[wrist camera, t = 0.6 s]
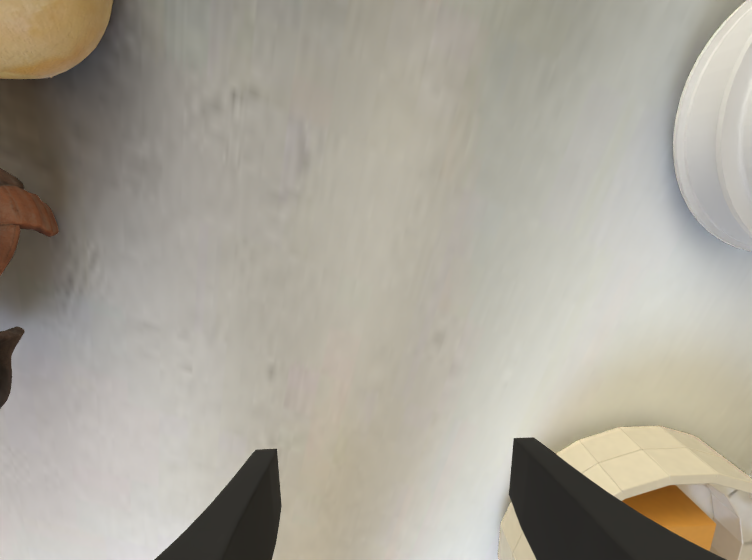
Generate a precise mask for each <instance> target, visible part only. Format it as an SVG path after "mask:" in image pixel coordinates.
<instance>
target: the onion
mask: <svg viewBox="0 0 752 560" xmlns="http://www.w3.org/2000/svg"><path fill="white" fill-rule="evenodd" d="M112 4H113V0H0V79H1V78H3V79H39V78H40V79H42V78H47V79H48V77H50V78H52V77H53V76H56V75H57V74H60V73H63V72H66V71H68V70H69V69H71V68H73V67H74V66H76V65H77V64H79V63H80V62H82V61H83V59H85V58H86V57H87V56H88V55H89V54H90V53H91V52H92V51H93V50H94V49H95V48H96V47H97V45H98V43H99V42H100V40H101V38H102V36H103V35H104V32H105V30H106V27H107V25H108V23H109V19H110V14H111V10H112Z"/></svg>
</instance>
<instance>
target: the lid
mask: <svg viewBox="0 0 752 560" xmlns="http://www.w3.org/2000/svg"><path fill="white" fill-rule="evenodd" d="M673 160H674V167H675V173H676V178H677V182H678V185H679V188H680V191H681V194H682V196H683V198H684V200H685V202H686V204H687V206H688V208H689V210H690V211H691V213H692V214H693V215H694V217H695V218H696V220H697V221H698V222H699V223H700V224H701V225H702V226H703V227H704V228H705V229H706V230H707V231H708V232H709V233H710V234H712V235H713V236H715V237H716V238H718V239H719V240H721V241H722V242H724V243H727V244H729V245H731V246H733V247H736V248H739V249H743V250H746V251H750V252H752V0H747V1H746V2H744V3H743V4H742V5H741V6H740V7H739V8H737V9H736V10H735V11H734V12H733V13H732V14H731V15H730V16H729V17H728V18H727V19H726V20H725V21H724V22H723V24H722V25H721V26H720V27H719V29H718V30H717V31H716V32H715V34H714V35H713V36H712V37H711V38H710V40H709V41H708V43H707V45H706V46H705V48H704V49H703V51H702V52H701V54H700V55H699V57H698V59H697V61H696V63H695V65H694V67H693V69H692V71H691V73H690V75H689V77H688V79H687V82H686V84H685V87H684V90H683V93H682V95H681V98H680V102H679V106H678V110H677V114H676V119H675V126H674V135H673Z"/></svg>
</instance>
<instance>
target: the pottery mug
mask: <svg viewBox="0 0 752 560" xmlns="http://www.w3.org/2000/svg"><path fill="white" fill-rule="evenodd" d="M20 229H33V230H36V231H38V232H39V233H42V234H44V235H46V236H48V237H51V236H54V235H56V234H58V232H59V230H58V226H57V222H56V220H55V218H54V215H53V213H52V210H51V209H50V207H49V206H48V205H47V204H46V203H44V202H42V201H41V200H40V198H39V197H38V195H36V194H32V193H29V192H27V191H25V190H24V186H23V183H22V182H21V181H20V180H19V179H18V178H16V177H15V176H13V175H11V174H9V173H8V172H6V171H4V170H3V169H1V168H0V276H1V274H2V273H3V271H4V269H5V268H6V266H7V265H8V264H9V262H10V260H11V258H12V257H13V255H14V252H15V250H16V247H17V244H18V240H19V235H20ZM23 334H24V330H23V329H22V328H20V327H14V328H11V329H8V330H6V331H0V408H1V407H2V406H3V405H4V404H5V402H6V401H7V399H8V396H9V394H10V390H11V383H12V369H11V355H12V353H13V351H14V349H15V347H16V345H17V343H18V342H19V340H20V339H21V337H22V335H23Z"/></svg>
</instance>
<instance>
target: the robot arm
mask: <svg viewBox="0 0 752 560" xmlns="http://www.w3.org/2000/svg"><path fill="white" fill-rule="evenodd" d="M509 496H510V499H511V502H512V504H513V507H514V510H515V513H516V516H517V518H518V521H519V524H520V526H521V529H522V531H523V533H524V535H525V537H526V539H527V541H528V543H529V545H530V548H531V550H532V552H533V554H534V556H535V558H536V560H726V559H724V558H722V557H720V556H718V555H716V554H714V553H712V552H710V551H708V550H706V549H704V548H702V547H700V546H698V545H696V544H694V543H692V542H690V541H688V540H686V539H685V538H683V537H681V536H679V535H677V534H675V533H673V532H672V531H670V530H668V529H666V528H665V527H663V526H661V525H660V524H658V523H656V522H654V521H653V520H651V519H649V518H647V517H646V516H644V515H642V514H641V513H639V512H638V511H636V510H634V509H633V508H631V507H630V506H628V505H627V504H625V503H624V502H622V501H621V500H619V499H618V498H616V497H615V496H613V495H612V494H610V493H609V492H607V491H606V490H604V489H603V488H601V487H600V486H598V485H597V484H596V483H594V482H593V481H591V480H590V479H589V478H587V477H586V476H585V475H583V474H582V473H580V472H579V471H578V470H576V469H575V468H574V467H572V466H571V465H570V464H568V463H567V462H566V461H564V460H563V459H562V458H561V457H559V456H558V455H557V454H555V453H554V452H553V451H551V450H550V449H549V448H547V447H546V446H545V445H543V444H542V443H541V442H539V441H538V440H536V439H535V438H514V443H513V454H512V466H511V477H510V489H509ZM280 513H281V494H280V482H279V470H278V457H277V449H263V450H255V451H254V452H253V453H252V455H251V456H250V457H249V458H248V460H247V461H246V462H245V464H244V465H243V466H242V467H241V469H240V470H239V471H238V472H237V474H236V475H235V476H234V477H233V478H232V480H231V481H230V482H229V483H228V485H227V486H226V487H225V488H224V489H223V490H222V491H221V493H220V494H219V495H218V496H217V497H216V498H215V500H214V501H213V502H212V503H211V504H210V505H209V506H208V507H207V508H206V510H205V511H204V512H203V513H202V514H201V515H200V516H199V517H198V518H197V519H196V520H195V521H194V522H193V523H192V524H191V525H190V526H189V527H188V529H187V530H186V531H185V532H183V533H182V534H181V535H180V536H179V537H178V538H177V539H176V540H175V541H174V542H173V543H172V544H171V545H170V546H169V547H168V548H167V549H166V550H165V551H163V552H162V553H161V554H160V555H159V556H158V557H157V558H156V559H155V560H272V556H273V553H274V549H275V545H276V539H277V533H278V527H279V520H280Z"/></svg>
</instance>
